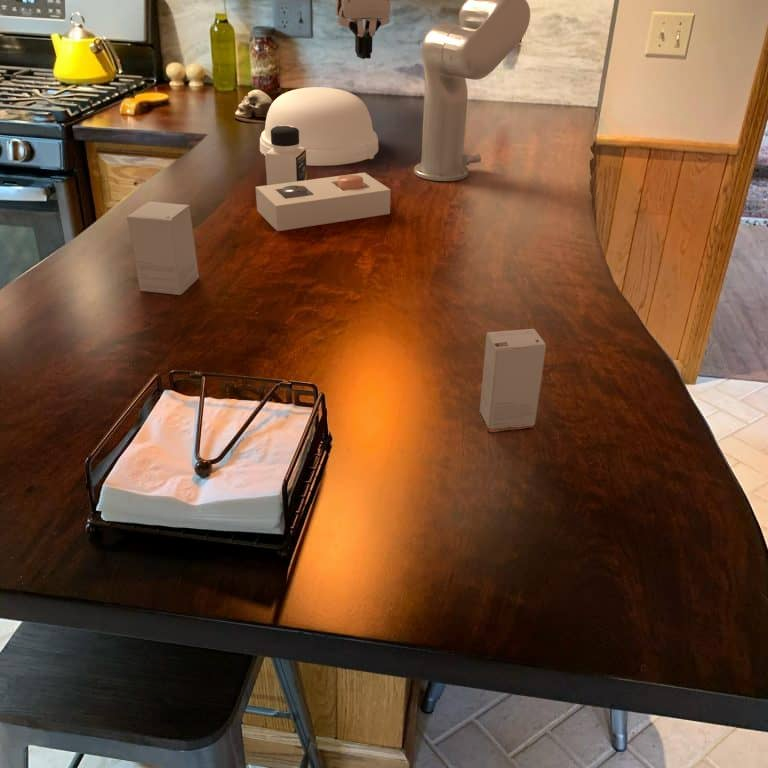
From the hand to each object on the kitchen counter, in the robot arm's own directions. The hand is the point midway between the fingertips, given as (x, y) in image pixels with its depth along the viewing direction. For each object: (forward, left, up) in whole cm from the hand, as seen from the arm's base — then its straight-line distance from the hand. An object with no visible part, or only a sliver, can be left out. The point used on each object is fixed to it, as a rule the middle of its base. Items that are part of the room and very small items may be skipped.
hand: (363, 57), depth 152 cm
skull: (+1, -70, -28) cm, 75 cm away
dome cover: (-4, -35, -28) cm, 44 cm away
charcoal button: (+19, +9, -26) cm, 33 cm away
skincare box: (+21, +86, -27) cm, 93 cm away
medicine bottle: (+13, -12, -27) cm, 33 cm away
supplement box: (+49, +30, -27) cm, 64 cm away
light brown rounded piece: (+7, +9, -25) cm, 27 cm away
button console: (+13, +9, -27) cm, 31 cm away
